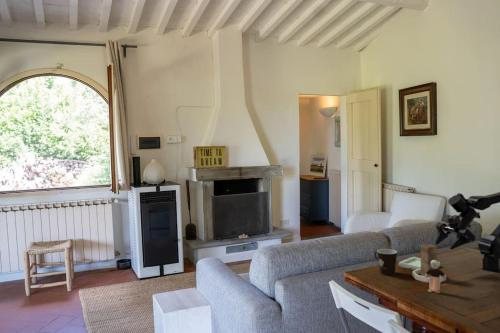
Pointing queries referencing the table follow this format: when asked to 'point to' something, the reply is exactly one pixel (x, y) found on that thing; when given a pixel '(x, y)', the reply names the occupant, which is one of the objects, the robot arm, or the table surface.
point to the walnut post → (427, 257)
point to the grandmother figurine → (435, 277)
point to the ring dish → (422, 278)
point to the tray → (411, 263)
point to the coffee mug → (386, 261)
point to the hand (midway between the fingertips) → (443, 246)
